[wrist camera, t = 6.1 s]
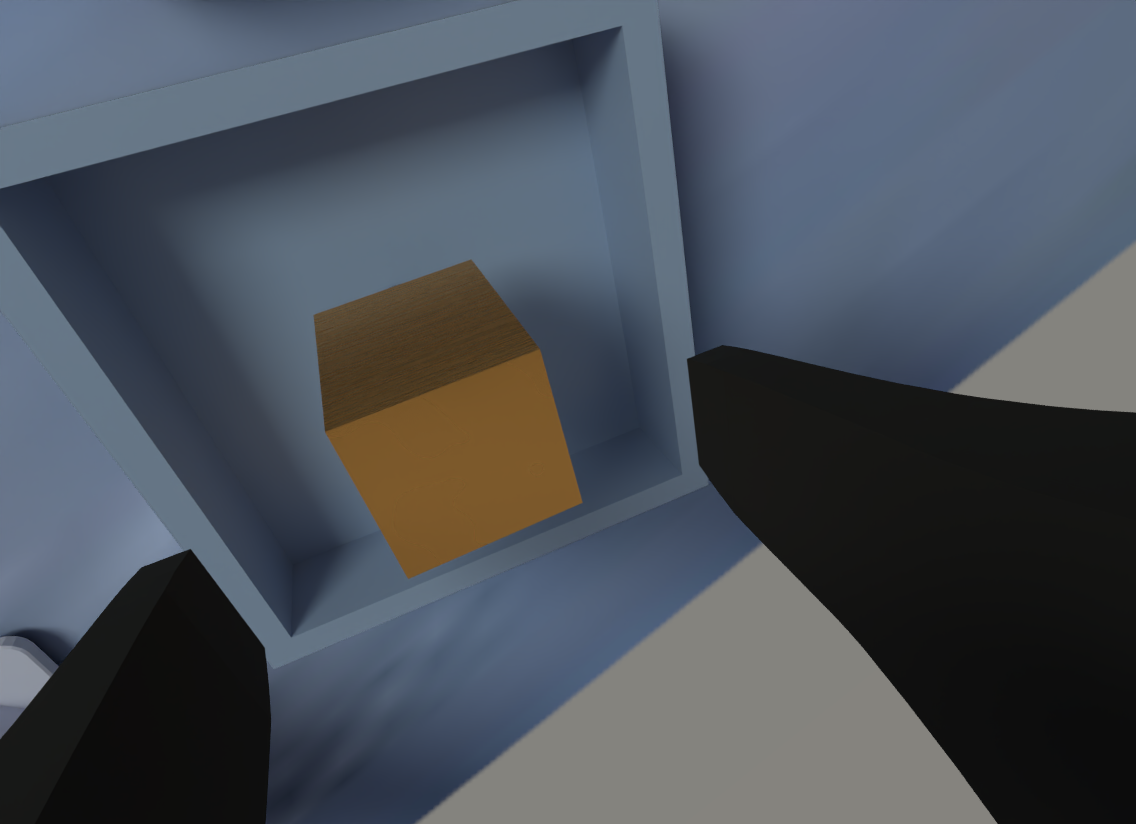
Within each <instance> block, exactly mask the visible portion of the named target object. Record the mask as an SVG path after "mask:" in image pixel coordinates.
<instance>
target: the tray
mask: <svg viewBox="0 0 1136 824" xmlns="http://www.w3.org/2000/svg"><path fill="white" fill-rule="evenodd" d="M471 259H472V261H473V262H474V263H475V265H476V266H477V267H478V269H479V270H480V271H481V272H482V274H483V275H484V276H485V278H486V279H487V280H488V282H489V283H490V284H491V286H492V287H493V288H494V289H495V291H496V292H497V293H498V295H499V296H500V297H501V299H502V300H503V301H504V303H505V304H506V305H507V306H508V308H509V309H510V310H511V312H512V313H513V314H514V316H515V317H516V318H517V320H518V321H519V322H520V324H521V325H522V326H523V327H524V329H525V330H526V331H527V333H528V334H529V335H530V337H531V338H532V339H533V341H534V342H535V343H536V344H537V346H538V347H539V348H540V351H541V354H542V358H543V362H544V365H545V369H546V372H547V376H548V380H549V383H550V387H551V390H552V394H553V398H554V401H555V405H556V408H557V412H558V416H559V419H560V423H561V426H562V430H563V434H564V437H565V441H566V444H567V448H568V452H569V455H570V459H571V462H572V466H573V470H574V473H575V477H576V480H577V484H578V488H579V491H580V495H581V498H582V502H583V503H581V504H579V505H576V506H574V507H572V508H570V509H567V510H565V511H563V512H560V513H558V514H556V515H554V516H551V517H549V518H547V519H544V520H542V521H540V522H538V523H535V524H533V525H531V526H528V527H526V528H524V529H522V530H519V531H517V532H515V533H512V534H510V535H508V536H506V537H503V538H501V539H499V540H497V541H494V542H492V543H490V544H487V545H485V546H483V547H481V548H478V549H476V550H474V551H471V552H469V553H467V554H465V555H462V556H460V557H458V558H455V559H453V560H451V561H449V562H446V563H444V564H442V565H439V566H437V567H435V568H433V569H430V570H428V571H426V572H423V573H421V574H419V575H417V576H414V577H412V578H410V579H408V578H407V576H406V574H405V573H404V571H403V569H402V567H401V566H400V564H399V562H398V560H397V558H396V557H395V555H394V553H393V551H392V550H391V548H390V546H389V544H388V543H387V541H386V539H385V537H384V536H383V534H382V532H381V530H380V528H379V527H378V525H377V523H376V521H375V520H374V518H373V516H372V514H371V513H370V511H369V509H368V507H367V505H366V504H365V502H364V500H363V498H362V497H361V495H360V493H359V491H358V490H357V488H356V486H355V484H354V483H353V481H352V479H351V477H350V475H349V474H348V472H347V470H346V468H345V467H344V465H343V463H342V461H341V460H340V458H339V456H338V454H337V452H336V451H335V449H334V447H333V445H332V444H331V442H330V440H329V438H328V437H327V435H326V433H325V427H324V417H323V407H322V396H321V386H320V376H319V366H318V356H317V345H316V335H315V325H314V314H317V313H320V312H323V311H326V310H329V309H331V308H334V307H337V306H340V305H343V304H346V303H348V302H351V301H354V300H357V299H360V298H363V297H365V296H368V295H371V294H374V293H377V292H380V291H382V290H385V289H388V288H390V287H392V286H394V285H398V284H402V283H405V282H408V281H411V280H414V279H417V278H419V277H422V276H425V275H428V274H431V273H434V272H436V271H439V270H442V269H445V268H448V267H451V266H454V265H456V264H459V263H462V262H465V261H468V260H471ZM0 311H1V312H2V314H3V315H4V316H5V317H6V319H7V320H8V321H9V323H10V324H11V325H12V327H13V328H14V329H15V331H16V332H17V333H18V335H19V336H20V337H21V338H22V340H23V341H24V342H25V344H26V345H27V346H28V348H29V349H30V350H31V352H32V353H33V354H34V355H35V357H36V358H37V359H38V361H39V362H40V363H41V365H42V366H43V367H44V369H45V370H46V371H47V372H48V374H49V375H50V376H51V378H52V379H53V380H54V382H55V383H56V384H57V386H58V387H59V388H60V390H61V391H62V392H63V393H64V395H65V396H66V397H67V399H68V400H69V401H70V403H71V404H72V405H73V407H74V408H75V409H76V410H77V412H78V413H79V414H80V416H81V417H82V418H83V420H84V421H85V422H86V424H87V425H88V426H89V427H90V429H91V430H92V431H93V433H94V434H95V435H96V437H97V438H98V439H99V441H100V442H101V443H102V445H103V446H104V447H105V448H106V450H107V451H108V452H109V454H110V455H111V456H112V458H113V459H114V460H115V462H116V463H117V464H118V465H119V467H120V468H121V469H122V471H123V472H124V473H125V475H126V476H127V477H128V479H129V480H130V481H131V482H132V484H133V485H134V486H135V488H136V489H137V490H138V492H139V493H140V494H141V496H142V497H143V498H144V500H145V501H146V502H147V503H148V505H149V506H150V507H151V509H152V510H153V511H154V513H155V514H156V515H157V517H158V518H159V519H160V520H161V522H162V523H163V524H164V526H165V527H166V528H167V530H168V531H169V532H170V534H171V535H172V536H173V537H174V539H175V540H176V541H177V543H178V544H179V545H180V547H181V548H182V549H183V551H186V550H189V549H191V550H192V551H193V552H194V554H195V555H196V556H197V558H198V559H199V560H200V562H201V563H202V564H203V566H204V567H205V568H206V570H207V571H208V572H209V574H210V575H211V576H212V578H213V579H214V580H215V582H216V583H217V584H218V586H219V587H220V588H221V590H222V591H223V592H224V594H225V595H226V596H227V598H228V599H229V600H230V602H231V603H232V604H233V606H234V607H235V608H236V610H237V611H238V612H239V614H240V615H241V616H242V618H243V619H244V620H245V622H246V623H247V624H248V626H249V627H250V628H251V630H252V631H253V632H254V634H255V635H256V636H257V638H258V639H259V640H260V642H261V643H262V644H263V646H264V647H265V653H266V659H267V661H268V662H269V663H270V665H271V666H272V667H273V668H274V669H276V668H279V667H281V666H283V665H286V664H288V663H290V662H293V661H295V660H297V659H300V658H302V657H305V656H307V655H309V654H312V653H314V652H316V651H319V650H321V649H323V648H326V647H328V646H330V645H333V644H335V643H338V642H340V641H342V640H345V639H347V638H349V637H352V636H354V635H356V634H359V633H361V632H363V631H366V630H368V629H370V628H373V627H375V626H378V625H380V624H382V623H385V622H387V621H389V620H392V619H394V618H396V617H399V616H401V615H403V614H406V613H408V612H411V611H413V610H415V609H418V608H420V607H422V606H425V605H427V604H429V603H432V602H434V601H436V600H439V599H441V598H444V597H446V596H448V595H451V594H453V593H455V592H458V591H460V590H462V589H465V588H467V587H469V586H472V585H474V584H476V583H479V582H481V581H484V580H486V579H488V578H491V577H493V576H495V575H498V574H500V573H502V572H505V571H507V570H509V569H512V568H514V567H517V566H519V565H521V564H524V563H526V562H528V561H531V560H533V559H535V558H538V557H540V556H542V555H545V554H547V553H549V552H552V551H554V550H557V549H559V548H561V547H564V546H566V545H568V544H571V543H573V542H575V541H578V540H580V539H582V538H585V537H587V536H590V535H592V534H594V533H597V532H599V531H601V530H604V529H606V528H608V527H611V526H613V525H615V524H618V523H620V522H623V521H625V520H627V519H630V518H632V517H634V516H637V515H639V514H641V513H644V512H646V511H648V510H651V509H653V508H655V507H658V506H660V505H663V504H665V503H667V502H670V501H672V500H674V499H677V498H679V497H681V496H684V495H686V494H688V493H691V492H693V491H696V490H698V489H700V488H703V487H705V486H707V485H709V484H708V477H707V475H706V474H705V473H704V471H703V470H702V468H701V467H700V466H699V461H698V452H697V443H696V435H695V426H694V417H693V409H692V400H691V391H690V383H689V374H688V366H687V359H688V358H690V357H693V356H695V351H694V341H693V332H692V322H691V313H690V304H689V294H688V285H687V275H686V266H685V256H684V247H683V237H682V228H681V218H680V209H679V199H678V190H677V180H676V171H675V161H674V152H673V143H672V133H671V124H670V114H669V105H668V95H667V86H666V76H665V67H664V57H663V48H662V38H661V29H660V19H659V10H658V0H518V1H514V2H510V3H505V4H501V5H497V6H493V7H489V8H485V9H481V10H477V11H473V12H469V13H465V14H461V15H457V16H453V17H448V18H444V19H440V20H436V21H432V22H428V23H424V24H420V25H416V26H412V27H408V28H404V29H400V30H395V31H391V32H387V33H383V34H379V35H375V36H371V37H367V38H363V39H359V40H355V41H351V42H347V43H343V44H338V45H334V46H330V47H326V48H322V49H318V50H314V51H310V52H306V53H302V54H298V55H294V56H290V57H286V58H281V59H277V60H273V61H269V62H265V63H261V64H257V65H253V66H249V67H245V68H241V69H237V70H233V71H228V72H224V73H220V74H216V75H212V76H208V77H204V78H200V79H196V80H192V81H188V82H184V83H180V84H176V85H171V86H167V87H163V88H159V89H155V90H151V91H147V92H143V93H139V94H135V95H131V96H127V97H123V98H118V99H114V100H110V101H106V102H102V103H98V104H94V105H90V106H86V107H82V108H78V109H74V110H70V111H66V112H61V113H57V114H53V115H49V116H45V117H41V118H37V119H33V120H29V121H25V122H21V123H17V124H13V125H9V126H4V127H0Z"/></svg>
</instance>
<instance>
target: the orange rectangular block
mask: <svg viewBox="0 0 1136 824" xmlns="http://www.w3.org/2000/svg"><path fill="white" fill-rule="evenodd" d="M314 325H315V335H316V345H317V356H318V366H319V376H320V386H321V396H322V407H323V417H324V427H325V433H326V435H327V437H328V438H329V440H330V442H331V444H332V445H333V447H334V449H335V451H336V452H337V454H338V456H339V458H340V460H341V461H342V463H343V465H344V467H345V468H346V470H347V472H348V474H349V475H350V477H351V479H352V481H353V483H354V484H355V486H356V488H357V490H358V491H359V493H360V495H361V497H362V498H363V500H364V502H365V504H366V505H367V507H368V509H369V511H370V513H371V514H372V516H373V518H374V520H375V521H376V523H377V525H378V527H379V528H380V530H381V532H382V534H383V536H384V537H385V539H386V541H387V543H388V544H389V546H390V548H391V550H392V551H393V553H394V555H395V557H396V558H397V560H398V562H399V564H400V566H401V567H402V569H403V571H404V573H405V574H406V576H407V578H408V579H410V578H412V577H414V576H417V575H419V574H421V573H423V572H426V571H428V570H430V569H433V568H435V567H437V566H439V565H442V564H444V563H446V562H449V561H451V560H453V559H455V558H458V557H460V556H462V555H465V554H467V553H469V552H471V551H474V550H476V549H478V548H481V547H483V546H485V545H487V544H490V543H492V542H494V541H497V540H499V539H501V538H503V537H506V536H508V535H510V534H512V533H515V532H517V531H519V530H522V529H524V528H526V527H528V526H531V525H533V524H535V523H538V522H540V521H542V520H544V519H547V518H549V517H551V516H554V515H556V514H558V513H560V512H563V511H565V510H567V509H570V508H572V507H574V506H576V505H579V504H581V503H583V502H582V498H581V495H580V491H579V488H578V484H577V480H576V477H575V473H574V470H573V466H572V462H571V459H570V455H569V452H568V448H567V444H566V441H565V437H564V434H563V430H562V426H561V423H560V419H559V416H558V412H557V408H556V405H555V401H554V398H553V394H552V390H551V387H550V383H549V380H548V376H547V372H546V369H545V365H544V362H543V358H542V354H541V351H540V348H539V347H538V346H537V344H536V343H535V342H534V341H533V339H532V338H531V337H530V335H529V334H528V333H527V331H526V330H525V329H524V327H523V326H522V325H521V324H520V322H519V321H518V320H517V318H516V317H515V316H514V314H513V313H512V312H511V310H510V309H509V308H508V306H507V305H506V304H505V303H504V301H503V300H502V299H501V297H500V296H499V295H498V293H497V292H496V291H495V289H494V288H493V287H492V286H491V284H490V283H489V282H488V280H487V279H486V278H485V276H484V275H483V274H482V272H481V271H480V270H479V269H478V267H477V266H476V265H475V263H474V262H473V261H472V259H471V260H468V261H465V262H462V263H459V264H456V265H454V266H451V267H448V268H445V269H442V270H439V271H436V272H434V273H431V274H428V275H425V276H422V277H419V278H417V279H414V280H411V281H408V282H405V283H402V284H398V285H394V286H392V287H390V288H388V289H385V290H382V291H380V292H377V293H374V294H371V295H368V296H365V297H363V298H360V299H357V300H354V301H351V302H348V303H346V304H343V305H340V306H337V307H334V308H331V309H329V310H326V311H323V312H320V313H317V314H314Z"/></svg>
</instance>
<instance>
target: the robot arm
mask: <svg viewBox="0 0 1136 824" xmlns="http://www.w3.org/2000/svg"><path fill="white" fill-rule="evenodd" d="M687 366H688V374H689V383H690V391H691V400H692V409H693V417H694V426H695V435H696V443H697V452H698V461H699V466H700V467H701V468H702V470H703V471H704V473H705V474H706V475H707V477H708V478H709V480H710V481H711V482H712V484H713V485H714V487H715V488H716V489H717V491H718V492H719V494H720V495H721V496H722V497H723V499H724V500H725V501H726V503H727V504H728V505H729V507H730V508H731V509H732V511H733V512H734V513H735V514H736V515H737V516H738V518H739V519H740V520H741V521H742V522H743V523H744V524H745V525H746V526H747V527H748V528H749V529H750V530H751V531H752V532H753V533H754V534H755V535H756V536H757V537H758V538H759V540H760V541H761V542H762V543H763V544H764V545H765V546H766V547H767V548H768V549H769V550H770V551H771V552H772V553H773V554H774V555H775V556H776V557H777V558H778V559H779V560H780V561H781V562H782V563H783V564H784V565H785V566H786V567H787V568H788V569H789V570H790V571H791V572H792V573H793V574H794V575H795V576H796V577H797V578H798V579H799V580H800V581H801V582H802V583H803V584H804V586H806V587H807V588H808V590H809V591H810V592H811V593H812V594H813V595H814V596H815V597H816V598H817V599H818V600H819V601H820V602H821V603H822V604H823V605H824V606H825V607H826V608H827V609H828V610H829V611H830V612H831V613H832V614H833V615H834V616H835V617H836V618H837V619H838V620H839V621H840V622H841V624H842V625H843V626H844V627H845V628H846V629H847V630H848V631H849V632H850V633H851V635H852V636H853V637H854V638H855V639H856V640H857V641H858V642H859V644H861V646H862V647H863V648H864V650H865V651H866V652H867V653H868V655H869V656H870V657H871V658H872V660H873V661H874V662H875V663H876V665H877V666H878V667H879V668H880V669H881V671H882V672H883V673H884V674H885V676H886V677H887V678H888V679H889V681H890V682H891V683H892V684H893V686H894V687H895V688H896V689H897V691H898V692H899V693H900V694H901V695H902V697H903V698H904V699H905V701H906V702H907V703H908V704H909V706H910V707H911V708H912V709H913V711H914V712H915V714H916V715H917V716H918V717H919V719H920V720H921V721H922V723H923V724H924V725H925V727H926V728H927V729H928V730H929V732H930V733H931V734H932V736H933V737H934V738H935V740H936V741H937V742H938V744H939V745H940V746H941V747H942V749H943V750H944V751H945V753H946V754H947V755H948V757H949V758H950V759H951V760H952V762H953V763H954V764H955V766H956V767H957V768H958V770H959V771H960V772H961V774H962V775H963V776H964V778H965V779H966V781H967V782H968V783H969V785H970V786H971V788H972V789H973V790H974V792H975V793H976V794H977V796H978V797H979V799H980V800H981V801H982V803H983V804H984V806H985V807H986V808H987V810H988V811H989V812H990V814H991V815H992V816H993V818H994V819H995V821H996V822H997V823H998V824H1136V413H1133V412H1117V411H1100V410H1087V409H1076V408H1075V409H1074V408H1064V407H1054V406H1045V405H1035V404H1028V403H1020V402H1012V401H1004V400H995V399H987V398H980V397H973V396H967V395H959V394H954V393H948V392H943V391H937V390H932V389H926V388H921V387H915V386H910V385H904V384H899V383H894V382H889V381H884V380H880V379H875V378H870V377H866V376H861V375H856V374H852V373H848V372H843V371H839V370H834V369H830V368H826V367H822V366H817V365H813V364H809V363H805V362H801V361H796V360H792V359H788V358H784V357H780V356H775V355H771V354H767V353H762V352H758V351H753V350H748V349H743V348H738V347H731V346H724V345H722V346H719V347H717V348H714V349H711V350H709V351H706V352H703V353H701V354H698V355H696V356H693V357H690V358H688V359H687ZM270 733H271V711H270V696H269V683H268V673H267V663H266V653H265V647H264V646H263V644H262V643H261V642H260V640H259V639H258V638H257V636H256V635H255V634H254V632H253V631H252V630H251V628H250V627H249V626H248V624H247V623H246V622H245V620H244V619H243V618H242V616H241V615H240V614H239V612H238V611H237V610H236V608H235V607H234V606H233V604H232V603H231V602H230V600H229V599H228V598H227V596H226V595H225V594H224V592H223V591H222V590H221V588H220V587H219V586H218V584H217V583H216V582H215V580H214V579H213V578H212V576H211V575H210V574H209V572H208V571H207V570H206V568H205V567H204V566H203V564H202V563H201V562H200V560H199V559H198V558H197V556H196V555H195V554H194V552H193V551H192V550H191V549H189V550H186V551H184V552H181V553H178V554H176V555H173V556H170V557H168V558H165V559H163V560H160V561H157V562H155V563H152V564H150V565H147V566H144V567H142V568H140V570H139V571H138V572H137V573H136V574H135V575H134V576H133V577H132V578H131V579H130V580H129V581H128V582H127V584H126V585H125V586H124V587H123V588H122V589H121V590H120V592H119V593H118V594H117V595H116V596H115V598H114V599H113V600H112V601H111V602H110V604H109V605H108V606H107V607H106V609H105V610H104V611H103V612H102V613H101V615H100V616H99V617H98V618H97V620H96V621H95V622H94V623H93V625H92V626H91V627H90V628H89V630H88V631H87V632H86V633H85V635H84V636H83V637H82V638H81V640H80V641H79V642H78V643H77V645H76V646H75V647H74V649H73V650H72V651H71V652H70V654H69V655H68V656H67V657H66V659H65V660H64V661H63V662H62V664H61V665H60V666H58V665H57V664H56V663H55V662H54V661H52V660H51V659H50V658H49V657H48V656H47V655H46V654H45V653H44V652H43V651H42V650H41V649H40V648H39V647H37V646H36V645H35V644H34V643H33V642H31V641H30V640H28V639H26V638H23V637H19V636H5V637H1V638H0V824H265V821H266V805H267V789H268V772H269V753H270Z"/></svg>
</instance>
